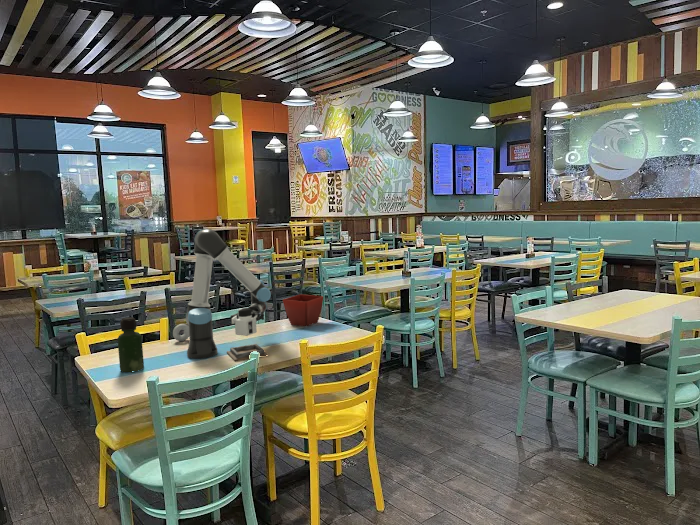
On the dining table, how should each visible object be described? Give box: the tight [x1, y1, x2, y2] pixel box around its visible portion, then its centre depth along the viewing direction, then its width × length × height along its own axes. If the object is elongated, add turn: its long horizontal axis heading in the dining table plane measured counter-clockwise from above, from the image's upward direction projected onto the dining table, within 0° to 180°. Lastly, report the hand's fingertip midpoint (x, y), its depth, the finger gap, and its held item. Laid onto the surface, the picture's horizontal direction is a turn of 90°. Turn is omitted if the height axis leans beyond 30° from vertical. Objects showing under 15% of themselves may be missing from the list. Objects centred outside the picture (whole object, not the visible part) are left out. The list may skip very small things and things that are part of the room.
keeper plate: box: [226, 343, 269, 362], centre depth 260 cm, size 17×17×3 cm
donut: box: [172, 323, 190, 342], centre depth 292 cm, size 10×3×10 cm, turn 126°
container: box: [234, 307, 258, 337], centre depth 258 cm, size 8×8×13 cm
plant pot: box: [282, 294, 324, 327], centre depth 324 cm, size 19×19×17 cm
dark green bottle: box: [116, 316, 145, 373], centre depth 241 cm, size 10×10×25 cm
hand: (243, 321), depth 254 cm, fingers closed on container, 10 cm apart
